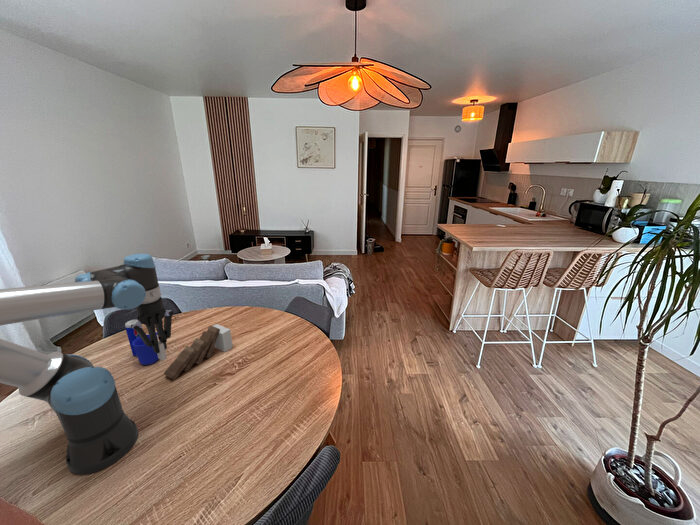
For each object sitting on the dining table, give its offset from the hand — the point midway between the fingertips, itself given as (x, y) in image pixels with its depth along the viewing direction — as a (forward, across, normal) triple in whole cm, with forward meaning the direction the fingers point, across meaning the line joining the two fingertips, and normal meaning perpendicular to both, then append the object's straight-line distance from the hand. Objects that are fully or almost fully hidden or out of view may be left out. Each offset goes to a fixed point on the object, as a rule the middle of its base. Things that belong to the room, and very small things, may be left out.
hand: (162, 358), depth 102 cm
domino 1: (+9, 0, 0) cm, 9 cm away
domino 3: (+9, +11, 0) cm, 14 cm away
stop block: (+9, +24, 0) cm, 25 cm away
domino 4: (+9, +15, 0) cm, 18 cm away
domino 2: (+9, +6, 0) cm, 10 cm away
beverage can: (+10, +3, +26) cm, 28 cm away
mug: (+10, +5, +18) cm, 21 cm away
